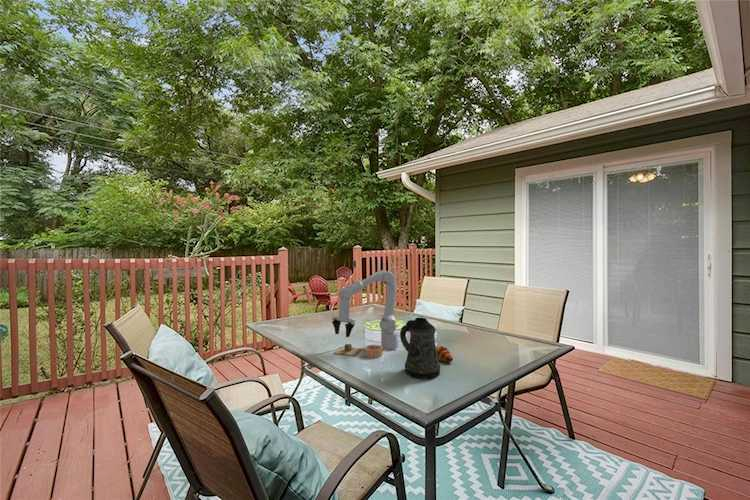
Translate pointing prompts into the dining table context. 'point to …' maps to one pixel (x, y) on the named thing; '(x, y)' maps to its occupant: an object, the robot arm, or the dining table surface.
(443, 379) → the dining table surface
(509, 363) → the dining table surface
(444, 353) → the croissant
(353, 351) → the lid
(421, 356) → the beer stein
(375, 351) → the bowl
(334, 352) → the mat
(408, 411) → the dining table surface
